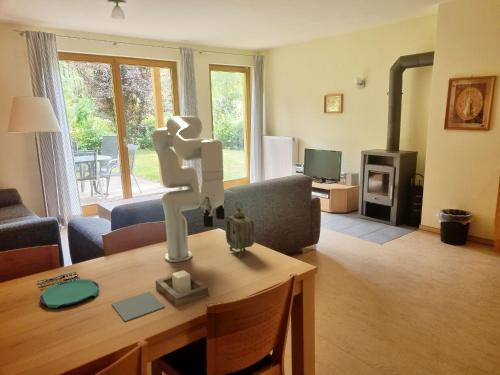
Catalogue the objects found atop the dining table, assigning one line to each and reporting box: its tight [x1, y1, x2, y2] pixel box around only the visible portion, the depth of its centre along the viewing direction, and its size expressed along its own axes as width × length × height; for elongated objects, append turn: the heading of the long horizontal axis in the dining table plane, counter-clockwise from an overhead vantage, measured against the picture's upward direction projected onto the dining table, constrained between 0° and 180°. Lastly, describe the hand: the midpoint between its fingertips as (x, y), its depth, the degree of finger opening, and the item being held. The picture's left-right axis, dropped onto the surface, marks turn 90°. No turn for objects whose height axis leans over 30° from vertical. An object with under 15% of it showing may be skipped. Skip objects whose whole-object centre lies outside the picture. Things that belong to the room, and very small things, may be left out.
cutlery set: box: [37, 271, 100, 309], centre depth 138 cm, size 20×30×2 cm, turn 38°
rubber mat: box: [111, 291, 166, 323], centre depth 126 cm, size 14×14×1 cm
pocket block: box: [155, 271, 210, 307], centre depth 136 cm, size 18×13×3 cm
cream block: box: [171, 269, 192, 294], centre depth 135 cm, size 5×5×7 cm
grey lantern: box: [224, 201, 256, 258], centre depth 170 cm, size 14×9×25 cm, turn 27°
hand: (214, 222), depth 128 cm, fingers open, 9 cm apart
